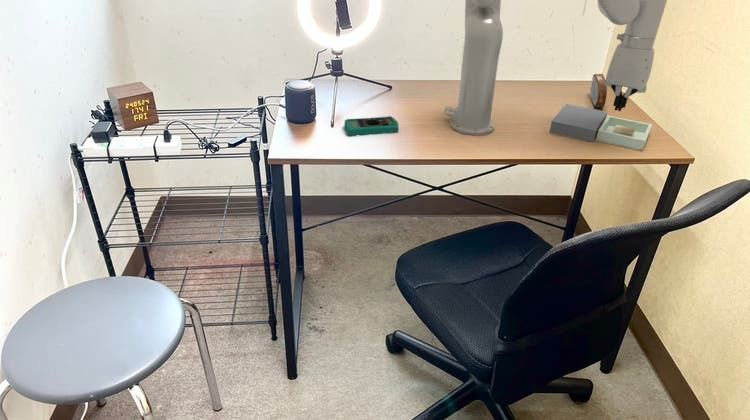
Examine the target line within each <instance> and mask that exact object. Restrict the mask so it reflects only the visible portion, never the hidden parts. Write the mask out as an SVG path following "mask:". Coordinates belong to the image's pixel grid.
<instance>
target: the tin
mask: <svg viewBox="0 0 750 420" xmlns="http://www.w3.org/2000/svg"><path fill="white" fill-rule="evenodd" d="M605 80H606V77H605V75H604V74H603V73H594V74H593V75H592V81H591V86H590V100H591V103H592V105H593V107H594V108H600V109H601V108H602V109H603V108H605V105H606V100H607V97H608V96H607V95H608V94H607V93H608V86H606V85H604V82H605Z"/></svg>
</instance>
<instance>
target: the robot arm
mask: <svg viewBox="0 0 750 420" xmlns="http://www.w3.org/2000/svg"><path fill="white" fill-rule="evenodd" d="M667 2H668V0H597V7H598V10H599V11H600V13H601V14H602V15H603V16H604V17H605V18H606V19H608V20H609V22H610V23H612V24H613V25H617V26H623V25H626V26H625V30H624V32H623V33H621V34H620V33H618V34H617V36H616V40H619V41H620V43H618V44H617V46H616V48H615V49H614V52H613V53H612V54H613V55H612V57H611V60H610V62H609V65H608V66H609V67H608V70H607V72H606V76H605V82H604V85H606V86H607V88H608V87H609V88H611V89H612V91H613V93H614V95H615V98H614V101H613V105H612V106H613V107H614V109H613V110H614V111H618V112H621V111H622V110H623V108H624V109H625V108H626V105H627V102H628V100H629V97H631V96H632V95H635V94H639V93H640V94H641V93H643V94H644V93H646V92H647V85H648V82H649V79H650V77H651V76H650V75H651V73H652V68H653V64H654V59H655V48H654V44H655V41H656V38H657V34H658V31H659V27H660V26H661V23H662V22H661V21H662V18H663V15H664V11H665V8H666V5H667ZM464 4H465V5H464V7H465V8H464V9H465V10H464V45H463V52H462V62H461V69H460V83H459V93H458V102H457V106H456V107H452V106H448V105H446V106H445V107H444V115H445V116H446V117H447V116H448V117H451V120H450V127H451V128H452V129H453V130H454V131H456V132H459V133H461V134H465V135H470V136H471V135H472V136H481V135H487V134H490V133H492V132H494V131H495V128H496V124H495V122H494V121H493V120H492V119H491V118H492V109H493V103H494V96H495V89H496V82H497V81H496V80H497V72H498V65H499V59H500V53H501V49H502V43H503V40H504V39H503V36H504V30H503V25H502V22H501V5H502V0H465V3H464ZM623 87H624V88H626V91H625V92H624V93H623V92H622V91H623Z"/></svg>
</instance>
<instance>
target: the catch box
mask: <svg viewBox="0 0 750 420" xmlns="http://www.w3.org/2000/svg"><path fill="white" fill-rule="evenodd" d="M616 125H620V126H625V127H630V128H635V132H634V135H633V137H630V136H626V135H621V134H616V133H613V130H614V128H615V127H616ZM652 126H653V124H652V123H647V122H642V121H636V120H631V119H626V118H621V117H617V116H613V115H607V116H606V119H605V121H604V122H603V124H602V126H601V127H600V129H599V130H598V134H597V136H596V138H595V141H596V142H600V143H604V144H608V145H613V146H616V147H622V148H628V149H630V150H635V151H641V152H643V150H644V147H645V146H646V143H647V141H648V138H649V137H650V133H651V130H652Z"/></svg>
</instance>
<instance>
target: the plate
mask: <svg viewBox="0 0 750 420" xmlns="http://www.w3.org/2000/svg"><path fill="white" fill-rule="evenodd" d="M607 116H608V111H605V110H599V109H594V108H590V107H584V106H579V105H576V104H575V105H574V104H570V103H565V104H564V106H563V107H562V108H561V109H560V110H559V112H558V113H557V114H556V115H555V116H554V117H553V118H552V120H551V121H550V126H549V132H548V133H549V134H554V135H559V136H563V137H568V138H572V139H575V140H580V141H584V142H585V141H586V142H590V143H593V142H594V141H596V138H597V134H598V130H599V129H600V127H601V126H602V124H603V122H604V121H605V119H606V118H607Z"/></svg>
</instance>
